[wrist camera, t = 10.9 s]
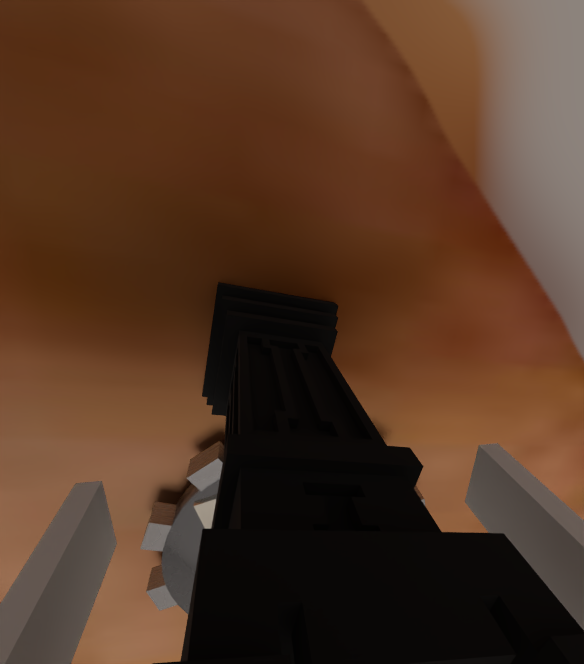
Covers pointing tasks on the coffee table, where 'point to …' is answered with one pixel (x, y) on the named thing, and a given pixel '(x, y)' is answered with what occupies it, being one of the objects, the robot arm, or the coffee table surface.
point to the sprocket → (185, 531)
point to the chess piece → (339, 523)
